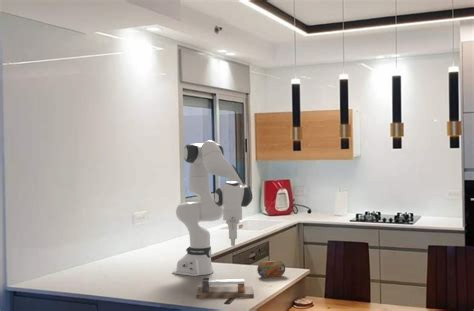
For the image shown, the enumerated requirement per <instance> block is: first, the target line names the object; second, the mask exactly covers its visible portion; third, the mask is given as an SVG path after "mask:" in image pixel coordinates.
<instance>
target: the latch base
mask: <svg viewBox="0 0 474 311" xmlns="http://www.w3.org/2000/svg"><path fill="white" fill-rule="evenodd" d="M209 280H210V276H209V277H208V276H207V277H202V280H201V282H202V283H201V285H202V286H199V287H197V290H196V299H235V298H237V299H239V298H240V297H249V298H254V289H253V286H252V285H251V286H250V285H248V286H245V283H244V284H237V286H210V285H209Z"/></svg>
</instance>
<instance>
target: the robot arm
mask: <svg viewBox="0 0 474 311" xmlns="http://www.w3.org/2000/svg"><path fill="white" fill-rule="evenodd" d="M182 154H183V159H184V161H185V162H186V163H189V168H188V169H189V171H188V182H189V183H188V184H189V185H188V188H189V191H190V193H191V194H193V195H194V196H197V197H198V198H200V201H187V202H186V201H185V202H182V203H179V204H178V205H177V207H176V209H175V215H176V217H177V220H179V221H180V222H181V223H183V224H184V225H185V227H186V229H187V231H188V235H189V246H188V247H187V248H186V249H185V252H186V254H185V255H184V256H182V257H181V258H179V259H178V261H177V263H176V268H174V269H172V274H174V275H181V276H182V275H183V276H190V277H191V276H192V277H197V276H203V275H204V276H205V275H211V274H213V273H214V269H213V264H212V258H211V257H212V247H211V234H210V233H211V232H210V231H209V230H208V229H207V228H204V227H202V226H200V224H199V222H200V223H202V222H203V223H204V222H214V221H219V220H220V219H222V218H223V221H225V224H227V227H228V239H229V240H230V246H232V247H234V246H236V240H237V239H238V224H240V221H242V220H243V208H246V207H248V206H249V205H250V204H251V203H252V201H253V192H252V190H251V189H250V188H249V186H248V185H247V184H246V183H245V181H244V180H243V177H242V176H241V174H240V173H239V172H238V170H237V168H236V167H235V165H234V164H232V163H231V162H229V161H228V160H227V159H226V158H225V157H224V148H223V146H222V145H221V144H220V143H217V142H216V141H213V140H206V141H204V142H203V143H200V142H199V143H188V144H186V145H185V146H184V149H183V153H182ZM210 175H213V176H217V177H221V178H225V179H228V180H227V181H225V182H223V185H222V186H220V187H218V188H217V189H215V191H214V192H213V193H214V196H213V194H212V191H211V186H210Z"/></svg>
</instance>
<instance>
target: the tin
mask: <svg viewBox="0 0 474 311" xmlns="http://www.w3.org/2000/svg"><path fill="white" fill-rule="evenodd" d="M256 269H257V271H256V272H257V274H258V275H259V276H260V277H261V278H263V279H267V278H268V279H269V277H270V279H271V278H279V277H282V276H283V275H284V274H285V272H286V265H285V263H283V262H282V261H281V260H268V261H261V262H260V263H259V264H258V266H257V268H256Z"/></svg>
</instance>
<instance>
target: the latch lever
mask: <svg viewBox="0 0 474 311" xmlns="http://www.w3.org/2000/svg"><path fill="white" fill-rule="evenodd" d="M238 284H244V285H245V278H235V279H233V278H231V279H209V286H210V285H212V286H213V285H238Z"/></svg>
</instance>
